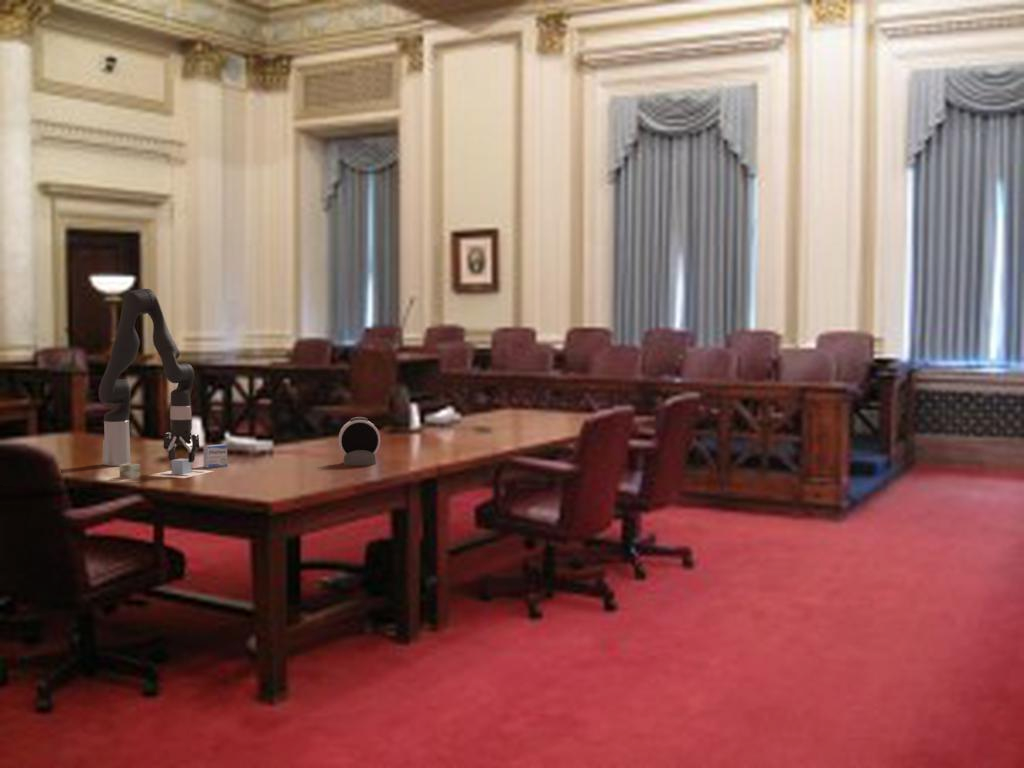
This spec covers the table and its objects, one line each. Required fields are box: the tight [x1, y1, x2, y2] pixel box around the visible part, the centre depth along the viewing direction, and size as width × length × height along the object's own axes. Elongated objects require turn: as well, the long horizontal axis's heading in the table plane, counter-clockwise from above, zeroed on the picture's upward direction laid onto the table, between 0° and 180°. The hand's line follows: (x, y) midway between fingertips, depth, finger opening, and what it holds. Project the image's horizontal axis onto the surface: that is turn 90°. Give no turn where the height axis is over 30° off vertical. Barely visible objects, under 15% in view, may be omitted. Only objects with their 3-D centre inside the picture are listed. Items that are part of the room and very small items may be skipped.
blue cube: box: [170, 458, 192, 474], centre depth 430 cm, size 5×5×5 cm
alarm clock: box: [338, 416, 381, 466], centre depth 457 cm, size 16×10×18 cm, turn 101°
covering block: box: [118, 462, 141, 479], centre depth 422 cm, size 5×5×5 cm
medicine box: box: [202, 443, 228, 469], centre depth 447 cm, size 8×4×9 cm, turn 126°
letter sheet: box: [148, 468, 214, 479], centre depth 430 cm, size 16×18×1 cm
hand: (181, 461), depth 430 cm, fingers open, 8 cm apart
